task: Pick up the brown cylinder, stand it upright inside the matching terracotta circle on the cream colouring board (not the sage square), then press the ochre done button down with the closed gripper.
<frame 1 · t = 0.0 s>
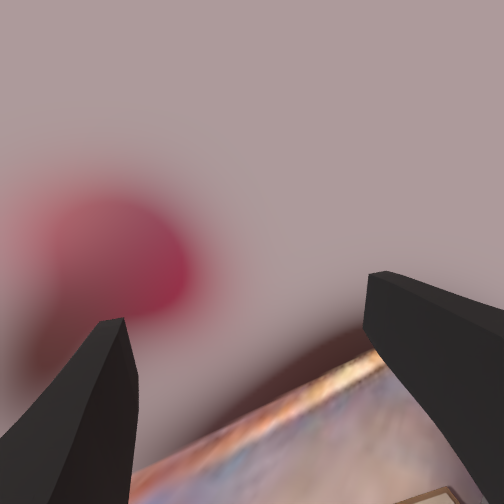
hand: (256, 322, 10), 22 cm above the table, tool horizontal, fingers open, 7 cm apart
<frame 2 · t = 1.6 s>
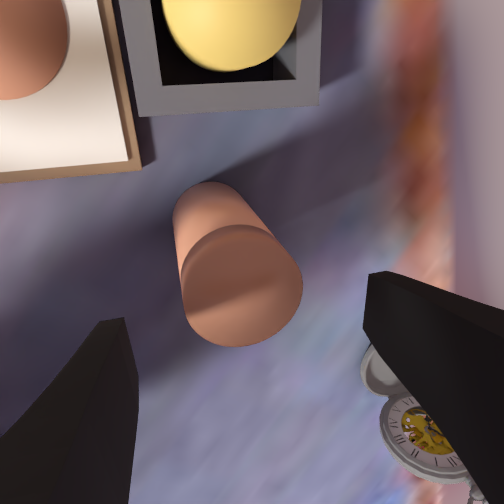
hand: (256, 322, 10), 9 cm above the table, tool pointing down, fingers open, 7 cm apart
pocket watch: (391, 364, 27), on the table
brown cylinder: (211, 218, 18), on the table
button base: (213, 16, 15), on the table
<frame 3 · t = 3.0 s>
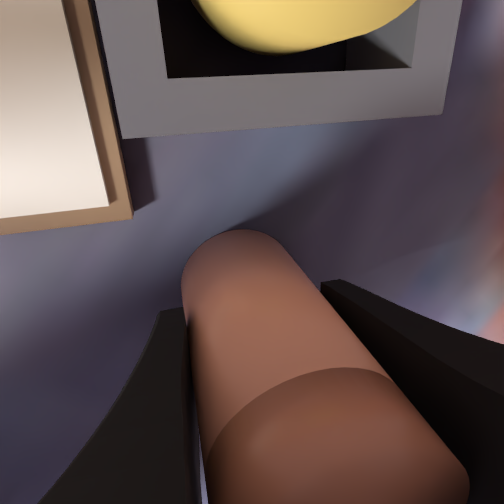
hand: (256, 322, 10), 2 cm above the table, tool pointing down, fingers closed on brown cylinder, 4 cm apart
brown cylinder: (238, 282, 12), on the table, touching gripper
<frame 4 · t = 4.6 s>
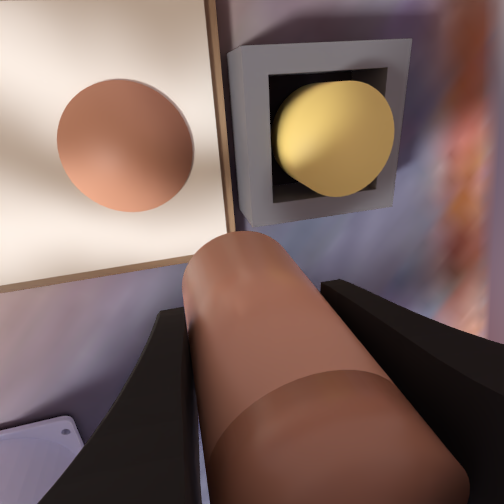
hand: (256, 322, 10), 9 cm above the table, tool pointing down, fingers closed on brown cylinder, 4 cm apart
done button: (329, 138, 15), point 3 cm above the table, slide at 0.0 cm
brown cylinder: (239, 283, 12), point 7 cm above the table, touching gripper
button base: (302, 131, 18), on the table
colouring board: (22, 158, 15), on the table
when the fingers open (4 cm above the table, at t = 6.3 s): brown cylinder drops 1 cm, resting on colouring board.
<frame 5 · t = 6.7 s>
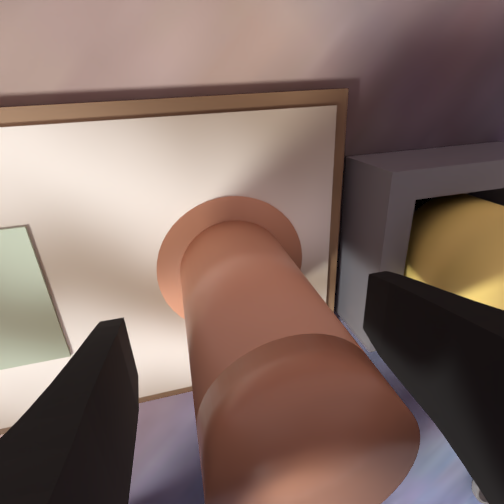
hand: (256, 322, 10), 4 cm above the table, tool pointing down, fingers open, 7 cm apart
done button: (467, 259, 13), point 3 cm above the table, slide at 0.0 cm
pocket watch: (495, 470, 28), on the table
brown cylinder: (233, 270, 13), point 1 cm above the table, touching colouring board
button base: (412, 230, 16), on the table
colouring board: (111, 276, 13), on the table
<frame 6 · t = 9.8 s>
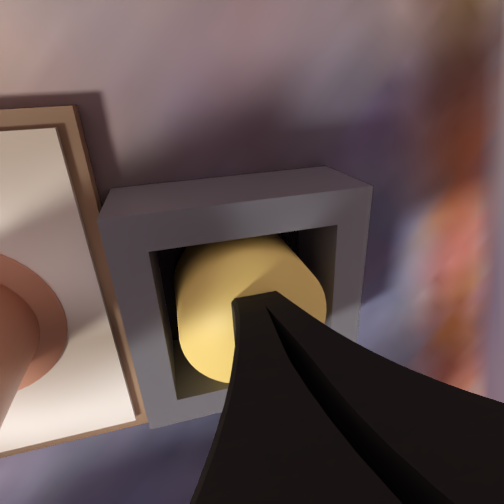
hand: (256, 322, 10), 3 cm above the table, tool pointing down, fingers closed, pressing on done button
done button: (245, 299, 11), point 2 cm above the table, slide at 1.1 cm, touching gripper
button base: (233, 271, 13), on the table
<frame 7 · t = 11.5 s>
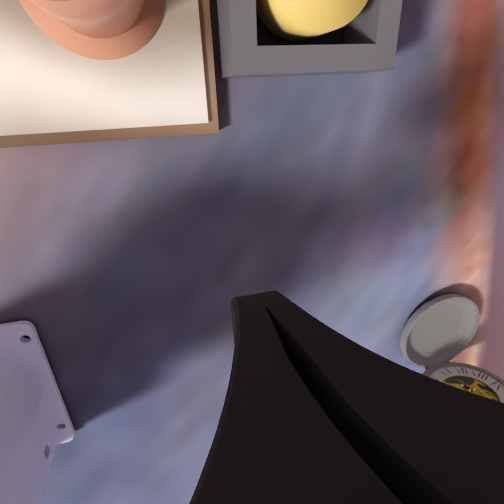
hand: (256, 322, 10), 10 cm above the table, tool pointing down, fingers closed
pocket watch: (428, 336, 28), on the table
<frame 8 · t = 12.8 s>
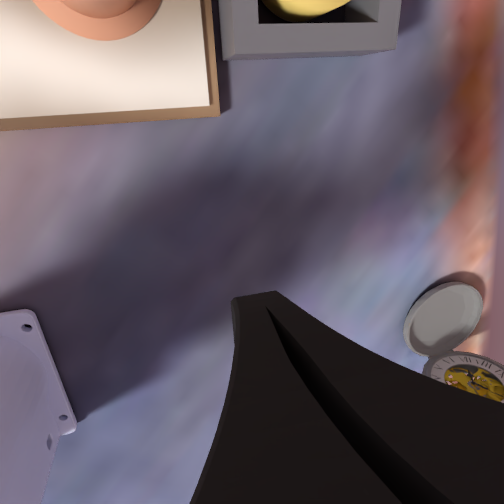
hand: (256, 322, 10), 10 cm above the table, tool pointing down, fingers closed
pocket watch: (431, 325, 28), on the table
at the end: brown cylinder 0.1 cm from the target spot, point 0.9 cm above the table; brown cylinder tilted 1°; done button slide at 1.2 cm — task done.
